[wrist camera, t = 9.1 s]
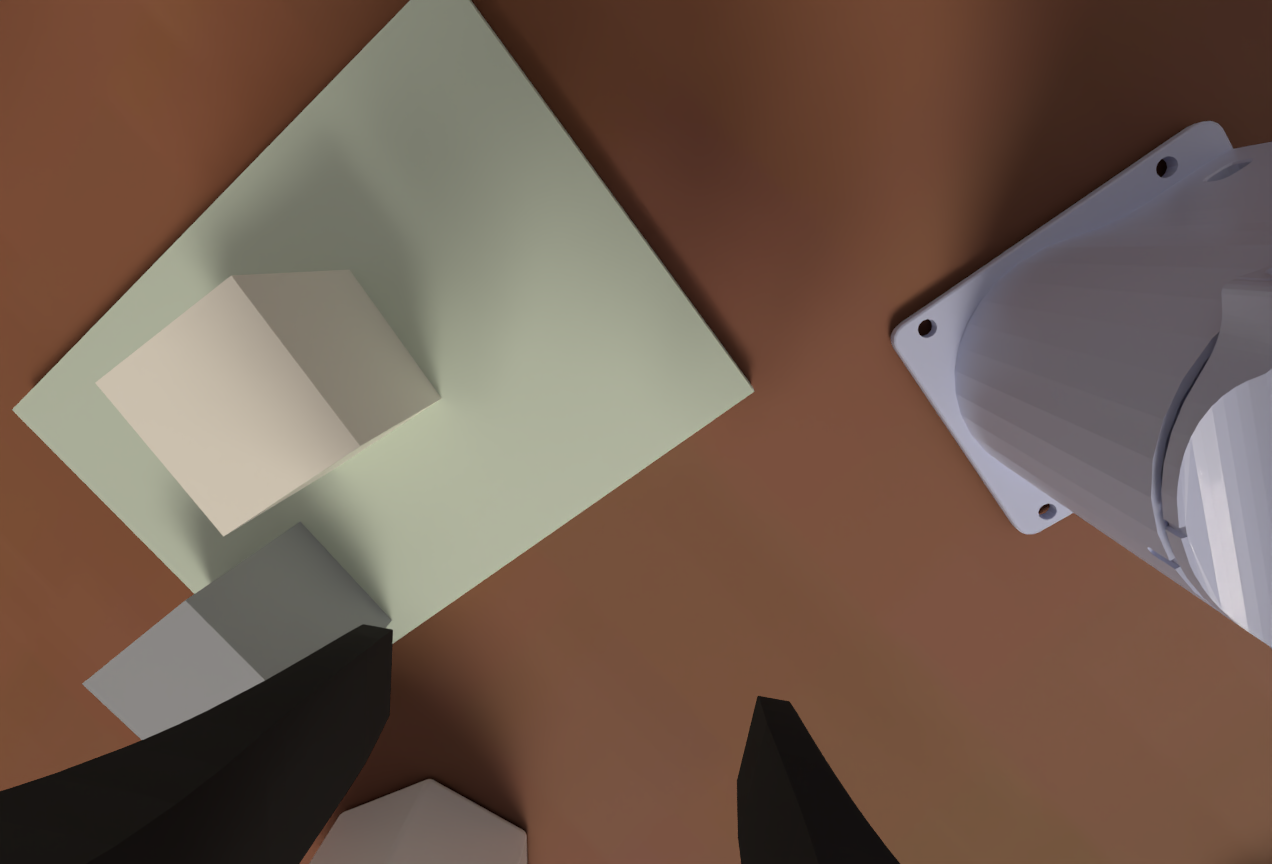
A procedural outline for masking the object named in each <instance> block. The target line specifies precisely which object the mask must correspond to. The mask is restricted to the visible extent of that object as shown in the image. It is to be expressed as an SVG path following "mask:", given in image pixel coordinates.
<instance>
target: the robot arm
mask: <svg viewBox="0 0 1272 864" xmlns="http://www.w3.org/2000/svg"><path fill="white" fill-rule="evenodd" d="M1161 159H1163V160H1164V161H1165V162H1166V165H1167V169H1166V172H1165V174H1164V175H1163V176H1162V177H1160V176H1159V175H1157V172H1156V167H1157V164H1158V162H1159V161H1160V160H1161ZM927 319H929V320H930V321H931V324H932V328H931V331H930V332H929V333H928V334H927V335H924V336H921V335H919V332H918V327H919V324H920V323H921V322H922V321H924V320H927ZM891 344H892V346H893V348H894V350H895V351H896V353H897V354H898V356H899V357H900V359H901V360H902V362H903V363H904V365H905V366H906V368H907V369H908V371H909V372H910V373H911V375H912V376H913V378H914V379H915V381H916V382H917V384H918V385H919V387H920V388H921V390H922V391H923V393H924V394H925V396H926V397H927V399H928V400H929V402H930V403H931V405H932V406H933V408H934V409H935V411H936V412H937V414H938V415H939V417H940V418H941V420H942V421H943V423H944V424H945V426H946V427H947V429H948V430H949V432H950V433H951V435H952V436H953V438H954V439H955V440H956V442H957V443H958V445H959V446H960V448H961V449H962V451H963V452H964V454H965V455H966V457H967V458H968V460H969V461H970V463H971V464H972V466H973V467H974V469H975V470H976V472H977V473H978V475H979V476H980V478H981V479H982V481H983V482H984V484H985V485H986V487H987V488H988V490H989V491H990V493H991V494H992V496H993V497H994V499H995V500H996V502H997V503H998V504H999V506H1000V507H1001V509H1002V510H1003V512H1004V513H1005V515H1006V516H1007V518H1008V519H1009V521H1010V522H1011V524H1012V525H1013V526H1014V527H1015V528H1016V529H1018V530H1019V531H1020V532H1021V533H1024V534H1035V533H1038V532H1040V531H1042V530H1044V529H1045V528H1047V527H1049V526H1051V525H1053V524H1054V523H1056V522H1058V521H1060V520H1061V519H1063V518H1065V517H1067V516H1069V515H1070V514H1072V513H1075V514H1076V515H1078V516H1079V517H1080V518H1082V519H1083V520H1085V521H1086V522H1088V523H1089V524H1091V525H1092V526H1094V527H1095V528H1097V529H1098V530H1100V531H1101V532H1103V533H1104V534H1105V535H1107V536H1108V537H1110V538H1111V539H1113V540H1114V541H1116V542H1117V543H1119V544H1120V545H1122V546H1123V547H1125V548H1126V549H1128V550H1129V551H1130V552H1132V553H1133V554H1135V555H1136V556H1138V557H1139V558H1141V559H1142V560H1144V561H1145V562H1147V563H1148V564H1150V565H1151V566H1153V567H1154V568H1155V569H1157V570H1158V571H1160V572H1161V573H1163V574H1164V575H1166V576H1167V577H1169V578H1170V579H1172V580H1173V581H1175V582H1176V583H1177V584H1179V585H1180V586H1182V587H1183V588H1185V589H1186V590H1188V591H1189V592H1191V593H1192V594H1194V595H1195V596H1197V597H1198V598H1200V599H1201V600H1202V601H1204V602H1205V603H1207V604H1208V605H1210V606H1211V607H1213V608H1214V609H1216V610H1217V611H1219V612H1220V613H1222V614H1223V615H1224V616H1226V617H1227V618H1229V619H1230V620H1232V621H1233V622H1235V623H1236V624H1237V625H1239V626H1240V627H1242V628H1243V629H1245V630H1246V631H1248V632H1249V633H1251V634H1252V635H1254V636H1255V637H1257V638H1258V639H1260V640H1261V641H1263V642H1264V643H1266V644H1267V645H1269V646H1270V647H1271V648H1272V142H1267V143H1262V144H1256V145H1251V146H1246V147H1241V148H1235V149H1233V147H1232V145H1231V143H1230V141H1229V139H1228V137H1227V135H1226V133H1225V132H1224V130H1223V128H1222V127H1221V126H1220V125H1219V124H1218V123H1216V122H1213V121H1203V122H1199V123H1195V124H1193V125H1190V126H1188V127H1186V128H1185V129H1183V130H1182V131H1180V132H1179V133H1177V134H1176V135H1174V136H1173V137H1171V138H1170V139H1169V140H1167V141H1166V142H1164V143H1163V144H1161V145H1160V146H1158V147H1157V148H1155V149H1154V150H1152V151H1151V152H1150V153H1148V154H1147V155H1145V156H1144V157H1142V158H1141V159H1139V160H1138V161H1136V162H1135V163H1133V164H1132V165H1131V166H1129V167H1128V168H1126V169H1125V170H1123V171H1122V172H1120V173H1119V174H1117V175H1116V176H1114V177H1113V178H1112V179H1110V180H1109V181H1107V182H1106V183H1104V184H1103V185H1101V186H1100V187H1098V188H1097V189H1095V190H1094V191H1092V192H1091V193H1090V194H1088V195H1087V196H1085V197H1084V198H1082V199H1081V200H1079V201H1078V202H1076V203H1075V204H1073V205H1072V206H1071V207H1069V208H1068V209H1066V210H1065V211H1063V212H1062V213H1060V214H1059V215H1057V216H1056V217H1054V218H1053V219H1052V220H1050V221H1049V222H1047V223H1046V224H1044V225H1043V226H1041V227H1040V228H1038V229H1037V230H1035V231H1034V232H1033V233H1031V234H1030V235H1028V236H1027V237H1025V238H1024V239H1022V240H1021V241H1019V242H1018V243H1016V244H1015V245H1013V246H1012V247H1011V248H1009V249H1008V250H1006V251H1005V252H1003V253H1002V254H1000V255H999V256H997V257H996V258H994V259H993V260H992V261H990V262H989V263H987V264H986V265H984V266H983V267H981V268H980V269H978V270H977V271H975V272H974V273H973V274H971V275H970V276H968V277H967V278H965V279H964V280H962V281H961V282H959V283H958V284H956V285H955V286H954V287H952V288H951V289H949V290H948V291H946V292H945V293H943V294H942V295H940V296H939V297H937V298H936V299H935V300H933V301H932V302H930V303H929V304H927V305H926V306H924V307H923V308H921V309H920V310H918V311H917V312H915V313H914V314H913V315H911V316H910V317H908V318H907V319H905V320H904V321H902V322H901V323H899V324H898V325H897V326H896V327H895V328H894V330H893V332H892V334H891ZM1045 504H1049V505H1050V507H1049V510H1048V511H1047V512H1046V513H1044V514H1041V515H1040V514H1039V513H1038V512H1039V509H1040V508H1041V507H1042V506H1043V505H1045ZM392 642H393V629H387V628H382V627H376V626H371V625H365V624H362V625H360V626H359V627H357V628H355V629H353V630H351V631H350V632H348V633H346V634H344V635H343V636H341V637H339V638H337V639H336V640H334V641H332V642H331V643H329V644H327V645H326V646H324V647H322V648H321V649H319V650H317V651H315V652H314V653H312V654H310V655H309V656H307V657H305V658H303V659H302V660H300V661H298V662H296V663H295V664H293V665H291V666H289V667H288V668H286V669H284V670H282V671H281V672H279V673H277V674H276V675H274V676H272V677H270V678H269V679H267V680H265V681H263V682H261V683H259V684H257V685H255V686H254V687H252V688H250V689H248V690H246V691H244V692H242V693H240V694H238V695H236V696H234V697H232V698H231V699H229V700H227V701H225V702H223V703H221V704H219V705H217V706H215V707H213V708H211V709H210V710H208V711H205V712H203V713H201V714H199V715H197V716H195V717H193V718H191V719H189V720H187V721H184V722H182V723H180V724H178V725H176V726H174V727H171V728H169V729H167V730H164V731H162V732H160V733H158V734H155V735H153V736H151V737H148V738H146V739H144V740H141V741H139V742H137V743H134V744H132V745H129V746H127V747H124V748H122V749H119V750H116V751H114V752H111V753H108V754H106V755H103V756H100V757H98V758H95V759H92V760H90V761H87V762H84V763H82V764H79V765H76V766H74V767H71V768H68V769H66V770H63V771H61V772H58V773H55V774H52V775H49V776H46V777H43V778H40V779H37V780H34V781H31V782H28V783H25V784H22V785H19V786H16V787H13V788H10V789H6V790H3V791H0V864H299V863H300V862H301V860H302V859H303V857H304V856H305V854H306V853H307V851H308V850H309V848H310V847H311V845H312V844H313V842H314V841H315V839H316V838H317V836H318V835H319V833H320V832H321V830H322V829H323V827H324V826H325V824H326V823H327V821H328V820H329V818H330V817H331V815H332V814H333V812H334V811H335V809H336V808H337V806H338V805H339V803H340V802H341V800H342V799H343V797H344V796H345V794H346V793H347V791H348V790H349V788H350V787H351V785H352V783H353V782H354V780H355V779H356V777H357V776H358V774H359V773H360V771H361V770H362V768H363V766H364V765H365V763H366V761H367V759H368V757H369V755H370V753H371V751H372V749H373V748H374V746H375V744H376V742H377V740H378V738H379V736H380V734H381V732H382V730H383V728H384V725H385V723H386V721H387V719H388V717H389V715H390V691H391V666H392ZM737 812H738V840H739V848H740V857H741V864H900V863H899V862H898V861H897V859H896V858H895V857H894V856H893V854H892V853H891V852H890V851H889V849H888V848H887V847H886V846H885V844H884V843H883V842H882V840H881V839H880V838H879V836H878V835H877V834H876V832H875V831H874V830H873V828H872V827H871V826H870V824H869V823H868V822H867V820H866V819H865V818H864V816H863V815H862V813H861V812H860V810H859V809H858V808H857V806H856V805H855V803H854V802H853V800H852V799H851V797H850V796H849V794H848V793H847V792H846V790H845V789H844V787H843V786H842V784H841V783H840V781H839V780H838V778H837V777H836V775H835V774H834V772H833V771H832V769H831V767H830V766H829V764H828V763H827V761H826V760H825V758H824V756H823V755H822V753H821V752H820V750H819V748H818V747H817V745H816V744H815V742H814V740H813V739H812V737H811V735H810V734H809V732H808V731H807V729H806V727H805V726H804V724H803V722H802V721H801V719H800V717H799V716H798V714H797V712H796V711H795V709H794V707H793V706H792V705H791V703H790V702H789V701H783V700H778V699H772V698H767V697H761V696H758V697H757V701H756V705H755V709H754V713H753V717H752V722H751V726H750V730H749V734H748V738H747V742H746V746H745V750H744V754H743V759H742V763H741V767H740V771H739V775H738V779H737Z"/></svg>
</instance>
